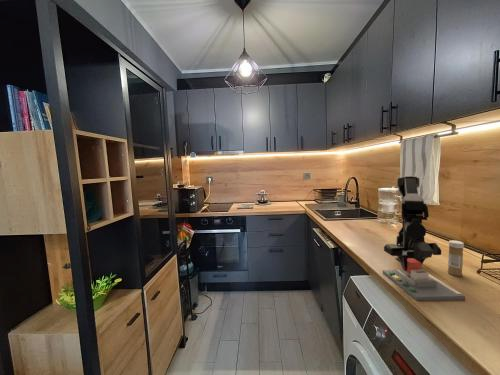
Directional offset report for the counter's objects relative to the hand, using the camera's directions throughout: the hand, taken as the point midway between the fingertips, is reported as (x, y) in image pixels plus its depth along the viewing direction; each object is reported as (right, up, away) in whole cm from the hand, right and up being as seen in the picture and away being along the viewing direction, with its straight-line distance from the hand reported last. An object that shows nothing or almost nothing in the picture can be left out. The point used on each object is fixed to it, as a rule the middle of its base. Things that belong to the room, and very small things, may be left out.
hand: (411, 270), depth 91 cm
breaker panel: (0, -4, -4) cm, 6 cm away
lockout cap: (0, 0, 0) cm, 0 cm away
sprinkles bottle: (+20, -3, +3) cm, 21 cm away
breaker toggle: (0, -3, -4) cm, 5 cm away
